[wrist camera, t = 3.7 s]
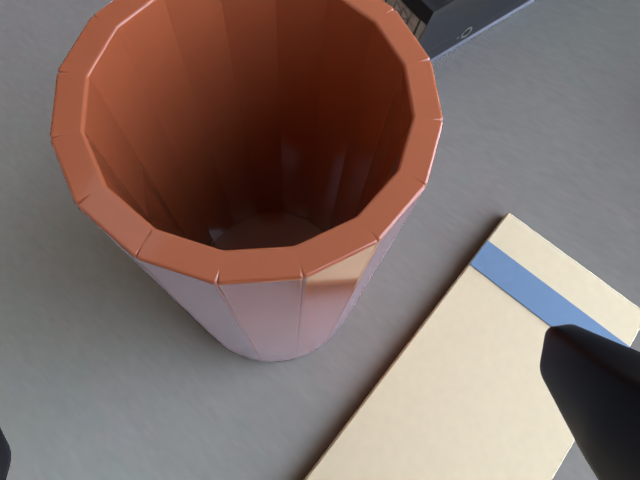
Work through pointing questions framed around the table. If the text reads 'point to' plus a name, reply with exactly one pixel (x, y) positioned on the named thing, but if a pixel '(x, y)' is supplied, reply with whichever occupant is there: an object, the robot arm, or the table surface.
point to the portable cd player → (452, 20)
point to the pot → (250, 154)
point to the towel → (480, 372)
